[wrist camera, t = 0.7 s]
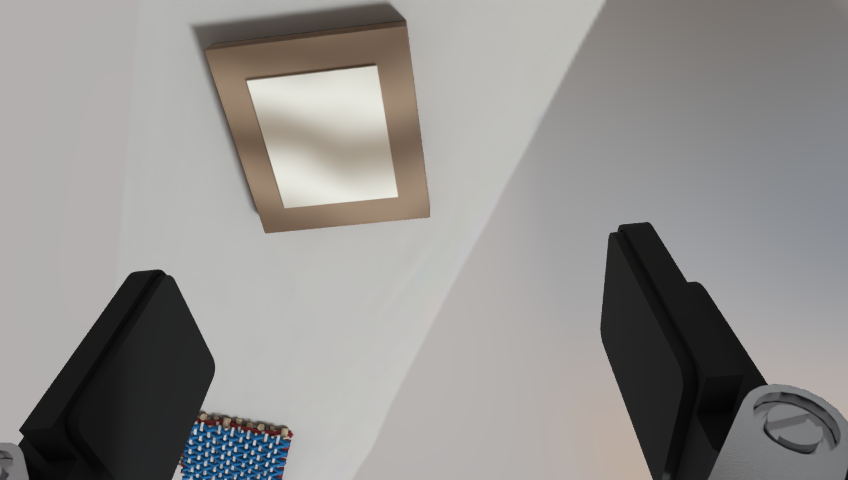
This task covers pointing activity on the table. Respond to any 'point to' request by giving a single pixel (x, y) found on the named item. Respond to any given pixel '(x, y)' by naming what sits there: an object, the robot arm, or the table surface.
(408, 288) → the table surface
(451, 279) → the table surface
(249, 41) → the picture frame
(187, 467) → the woven mat
